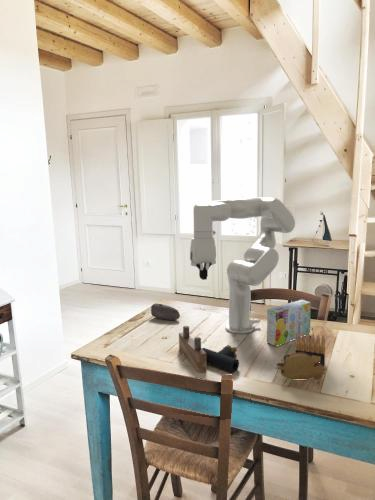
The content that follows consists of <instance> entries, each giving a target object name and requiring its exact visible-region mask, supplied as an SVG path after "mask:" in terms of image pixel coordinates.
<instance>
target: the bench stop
mask: <svg viewBox="0 0 375 500" xmlns="http://www.w3.org/2000/svg"><path fill="white" fill-rule="evenodd" d="M182 329H183V330H182V332H179V333H178V346H179V347H178V349H179V351H180V352H181V353H182V355H183V356H184V358H186V360H188V362H189V363H190V364H191V366H192V367H193V368H194V369H195V370H196V372H197V373H198V374H201V373H205V372H207V363H206V352H205V351H204V350H203V349H202V348H203V347H202V338H201V337H199V336H197V337H194V338H192V336H190V326H188V325H184V326H183V327H182Z"/></svg>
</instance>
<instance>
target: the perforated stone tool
mask: <svg viewBox="0 0 375 500" xmlns="http://www.w3.org/2000/svg"><path fill="white" fill-rule="evenodd" d="M150 314H151V316H152V317H154V318H157V319H161V320H168V321H169V320H170V321H175V320H179V318H181V314H180V312H179V310H178V309H176V308H175V307H172V306H170V305H166V304H162V303H154V304H152V305H151V307H150Z"/></svg>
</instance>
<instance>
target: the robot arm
mask: <svg viewBox="0 0 375 500" xmlns="http://www.w3.org/2000/svg"><path fill="white" fill-rule="evenodd" d="M258 217H261V219H260V232H259V235H258V237H257V239H255V241H254V242H253V243H252V244H251V245H250V246H249V247H248V248H247V249H246V251H245V252H244V254H243V259H244V260H240V259H234V260H232V261H230V262H229V264H228V265H227V268H226V275H227V281H228V290H229V291H228V322H227V323H226V324H225V330H226V331H227V332H230V333H232V334H239V335H241V334H249V333H252V332H253V331H254V327H255V326H254V325H255V324H260V322H261V320H260V318H255V317H251V301H252V300H251V297H252V296H251V295H252V293H251V286H252V287H257V286H259V285H261V284H262V283H263V282H264V281H265V280H266V279H267V278H268V276H269V275H270V274H271V273H272V272H273V271H274V270H275V268H276V267H277V265H278V264H279V259H280V258H279V253H278V251H277V250H276V249H275V247H276V244H277V243H276V242H277V241H276V236H275V235H276V234H275V232H276V233H281V234H289V233H291V232H293V231H294V229H295V227H296V220H295V218H294V216H293V214H292V212H290V210H289V209H288V208H287V207H286V205H285V204H284V203H283V202H282V201H281V200H280V199H278V198H275V197H264V196H261V197H250V198H236V199H222V200H211V201H210V200H207V201H205V202H203V203H196V204H195V205H194V206H193V237H191V241H190V248H189V249H190V250H189V260H190V266H191V267H196V268H197V269H198V270H199V271H198V272H199V278H200V279H201V280H202V281H204V280H205V281H206V280H207V278H208V271H209V269H210V267H211V266H213V265H215V264H216V263H217V249H216V241H215V238H214V235H216V234H217V233H216V230H213V222H225V221H228V219H238V220H239V219H241V220H242V219H250V218H258Z"/></svg>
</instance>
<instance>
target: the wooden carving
mask: <svg viewBox="0 0 375 500" xmlns="http://www.w3.org/2000/svg"><path fill="white" fill-rule="evenodd" d="M275 365H276V367H275V368H276V369H277V370H279V371H280V375H281V376H282V377H284V378H286V379H289V380H291V379H308V380H310V379H315V380H321V378H322V377H323V374H324V373H325V372H326V370H327V369H326V367H324V365H322V364H321V363H318V362H316V360H315V357H314V356H313V354H312V355H309V354H307V353H302V352H299V353H295V352H293V353H288V354H284V356H283V362H277V363H276V364H275Z"/></svg>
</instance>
